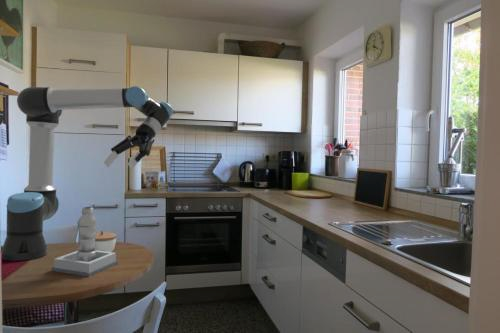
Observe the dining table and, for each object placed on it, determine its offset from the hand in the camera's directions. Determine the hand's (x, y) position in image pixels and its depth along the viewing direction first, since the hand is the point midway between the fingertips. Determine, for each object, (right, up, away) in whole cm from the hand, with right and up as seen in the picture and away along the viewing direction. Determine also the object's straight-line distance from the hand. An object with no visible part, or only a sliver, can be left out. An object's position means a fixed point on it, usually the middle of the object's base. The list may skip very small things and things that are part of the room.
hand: (117, 165), depth 136 cm
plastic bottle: (-6, -35, -12) cm, 38 cm away
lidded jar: (-8, -36, +3) cm, 36 cm away
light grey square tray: (-7, -36, -12) cm, 38 cm away
